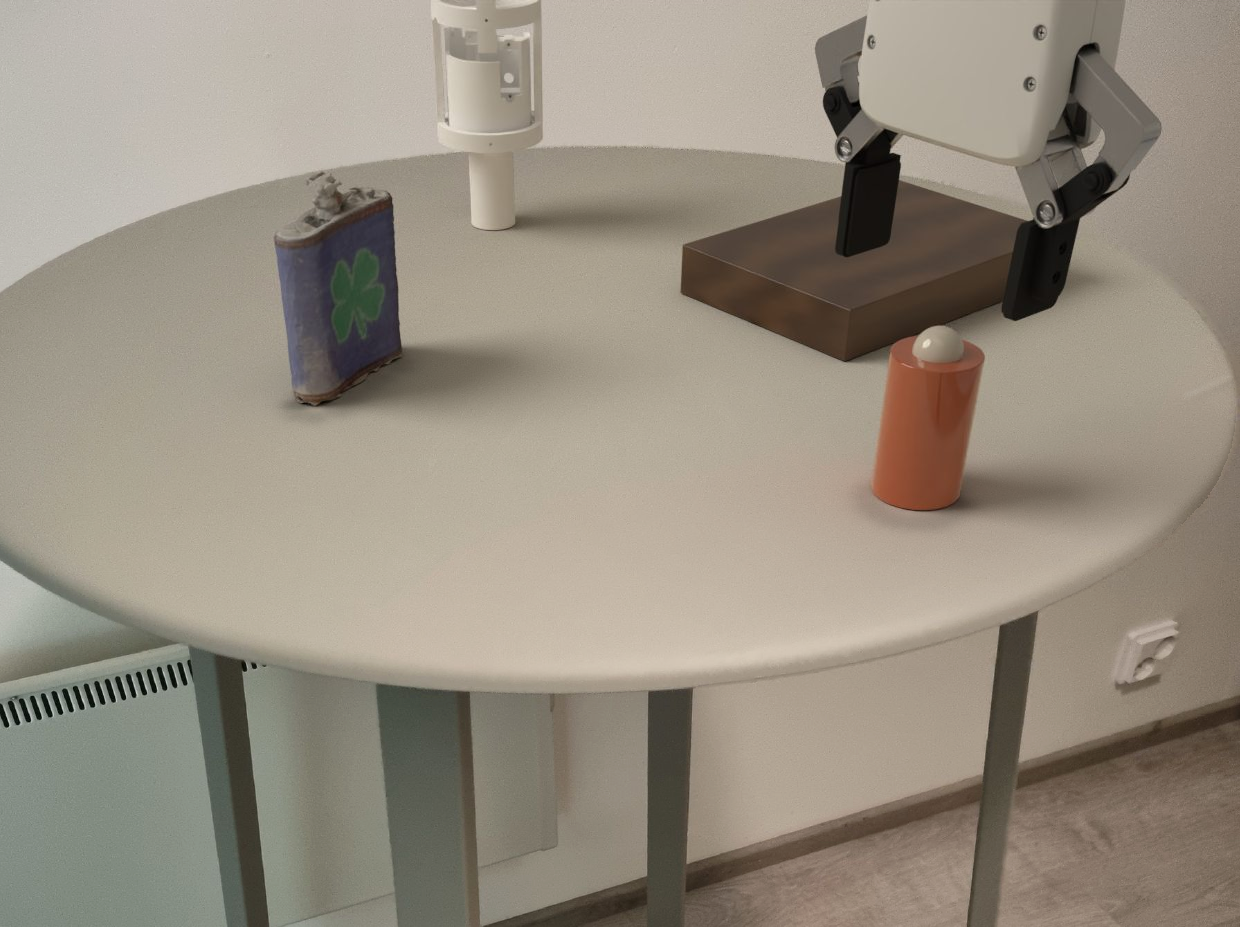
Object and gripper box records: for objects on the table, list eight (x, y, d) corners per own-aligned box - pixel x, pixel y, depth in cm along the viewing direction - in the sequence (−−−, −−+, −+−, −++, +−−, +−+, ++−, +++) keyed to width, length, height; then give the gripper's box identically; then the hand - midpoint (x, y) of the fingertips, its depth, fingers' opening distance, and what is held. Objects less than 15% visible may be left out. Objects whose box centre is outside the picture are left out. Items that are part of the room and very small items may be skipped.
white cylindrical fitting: (441, 241, 102) (427, -11, 92) (443, 206, 108) (430, -35, 98) (545, 239, 103) (542, -12, 93) (542, 205, 108) (539, -37, 98)
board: (1056, 281, 97) (1066, 232, 95) (844, 362, 87) (850, 310, 85) (890, 224, 105) (896, 179, 103) (679, 293, 95) (682, 244, 93)
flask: (320, 409, 82) (296, 204, 75) (277, 399, 83) (249, 195, 76) (413, 351, 88) (399, 156, 81) (372, 341, 90) (354, 148, 82)
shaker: (978, 492, 75) (1009, 330, 70) (920, 519, 73) (948, 354, 68) (910, 461, 78) (935, 302, 72) (852, 487, 76) (874, 325, 70)
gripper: (1281, -156, 54) (1152, 319, 66) (911, -207, 64) (855, 214, 75) (1160, -138, 50) (1046, 361, 62) (788, -195, 60) (748, 245, 72)
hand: (941, 280), depth 69 cm, fingers open, 9 cm apart
